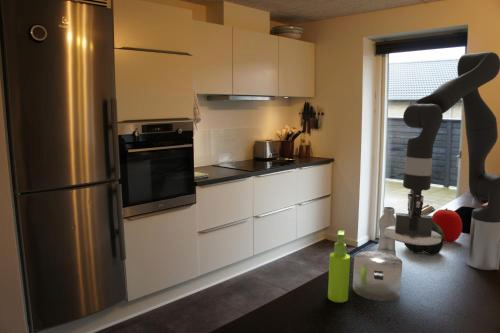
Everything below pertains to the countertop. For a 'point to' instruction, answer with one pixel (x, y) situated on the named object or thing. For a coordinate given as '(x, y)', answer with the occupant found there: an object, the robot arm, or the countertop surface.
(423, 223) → the cooker lid
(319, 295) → the countertop surface
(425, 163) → the robot arm
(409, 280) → the countertop surface
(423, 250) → the squash
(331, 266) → the soap dispenser
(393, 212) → the plastic bottle
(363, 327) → the countertop surface
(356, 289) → the cooker pot
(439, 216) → the tomato
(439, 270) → the countertop surface
